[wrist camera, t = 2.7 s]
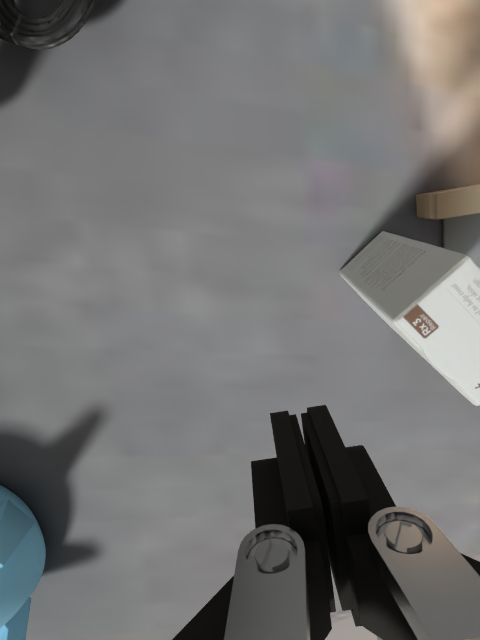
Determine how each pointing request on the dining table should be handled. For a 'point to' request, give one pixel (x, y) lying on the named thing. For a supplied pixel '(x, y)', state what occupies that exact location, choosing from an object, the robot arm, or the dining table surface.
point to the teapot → (18, 563)
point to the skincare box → (425, 302)
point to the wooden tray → (455, 217)
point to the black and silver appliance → (44, 24)
